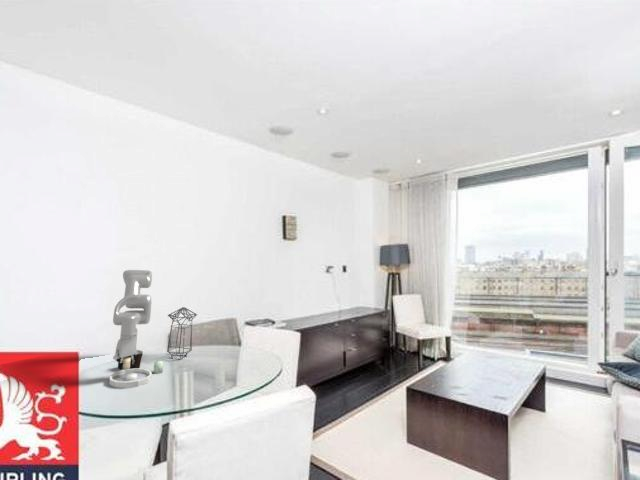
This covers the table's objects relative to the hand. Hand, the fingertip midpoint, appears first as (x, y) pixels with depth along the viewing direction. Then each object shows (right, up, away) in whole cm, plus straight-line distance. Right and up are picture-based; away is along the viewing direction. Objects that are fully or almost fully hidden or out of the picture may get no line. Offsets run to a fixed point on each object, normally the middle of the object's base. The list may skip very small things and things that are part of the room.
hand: (124, 367), depth 198 cm
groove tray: (+5, -6, -3) cm, 8 cm away
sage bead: (+14, -7, +12) cm, 20 cm away
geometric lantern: (+14, -8, +42) cm, 45 cm away
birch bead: (0, -1, 0) cm, 1 cm away
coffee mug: (-5, -6, +16) cm, 17 cm away
